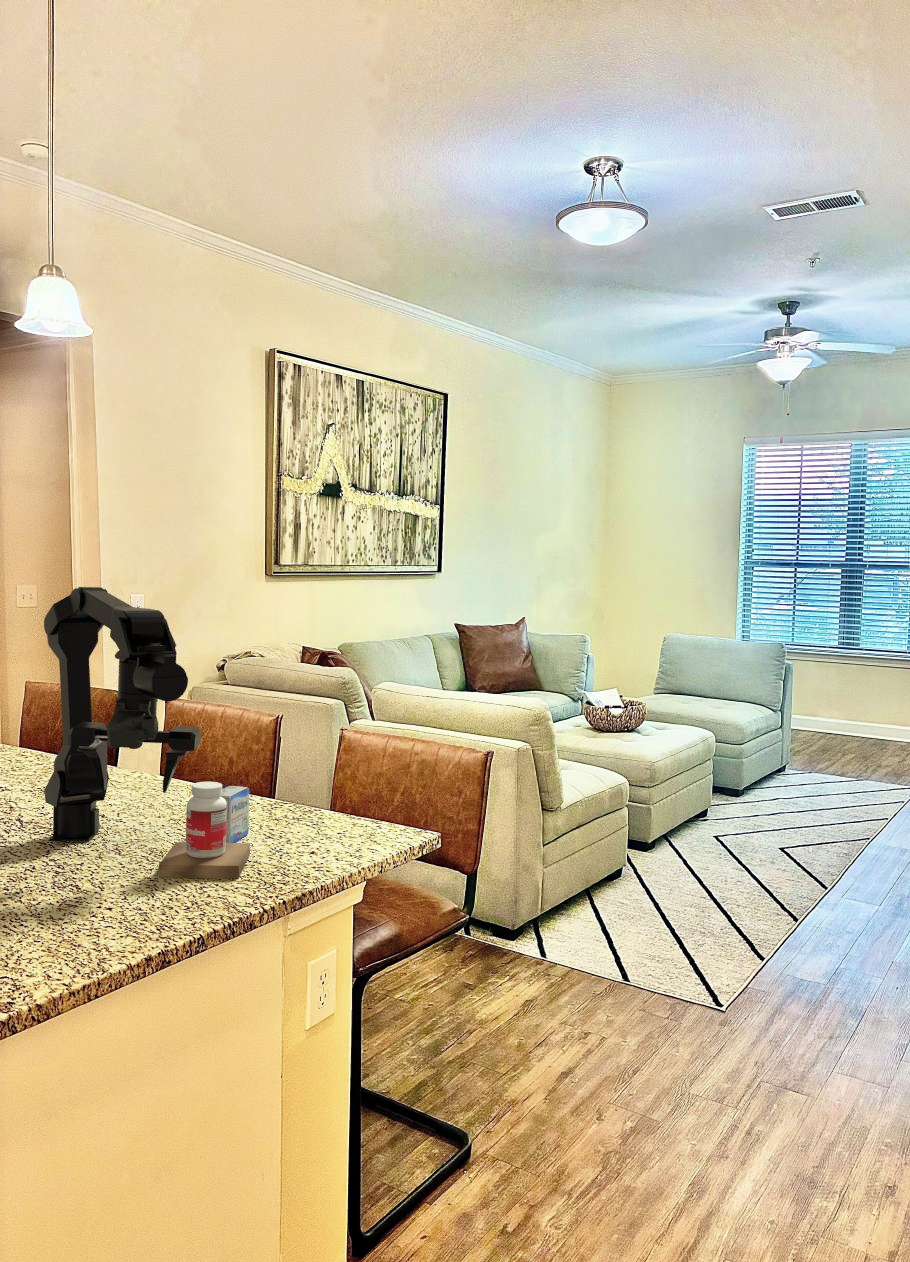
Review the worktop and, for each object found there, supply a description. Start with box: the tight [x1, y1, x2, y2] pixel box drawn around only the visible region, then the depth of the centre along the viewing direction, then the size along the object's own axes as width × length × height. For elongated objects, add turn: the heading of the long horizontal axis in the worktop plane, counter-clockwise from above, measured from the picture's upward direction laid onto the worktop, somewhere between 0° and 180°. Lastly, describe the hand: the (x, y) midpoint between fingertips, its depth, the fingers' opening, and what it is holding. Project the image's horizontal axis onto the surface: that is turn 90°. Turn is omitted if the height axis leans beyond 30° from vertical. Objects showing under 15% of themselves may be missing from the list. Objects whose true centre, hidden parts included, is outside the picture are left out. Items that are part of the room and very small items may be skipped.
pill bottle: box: [185, 781, 227, 858], centre depth 150 cm, size 6×6×11 cm
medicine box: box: [221, 785, 250, 843], centre depth 165 cm, size 8×4×9 cm, turn 168°
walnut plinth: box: [158, 841, 251, 880], centre depth 150 cm, size 12×12×2 cm
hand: (134, 791), depth 147 cm, fingers open, 9 cm apart
